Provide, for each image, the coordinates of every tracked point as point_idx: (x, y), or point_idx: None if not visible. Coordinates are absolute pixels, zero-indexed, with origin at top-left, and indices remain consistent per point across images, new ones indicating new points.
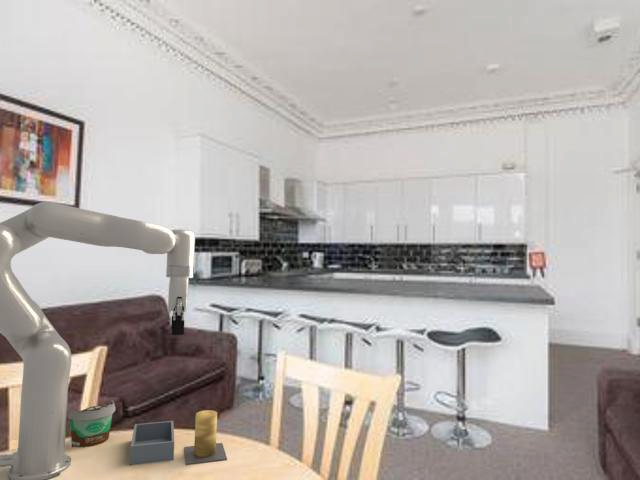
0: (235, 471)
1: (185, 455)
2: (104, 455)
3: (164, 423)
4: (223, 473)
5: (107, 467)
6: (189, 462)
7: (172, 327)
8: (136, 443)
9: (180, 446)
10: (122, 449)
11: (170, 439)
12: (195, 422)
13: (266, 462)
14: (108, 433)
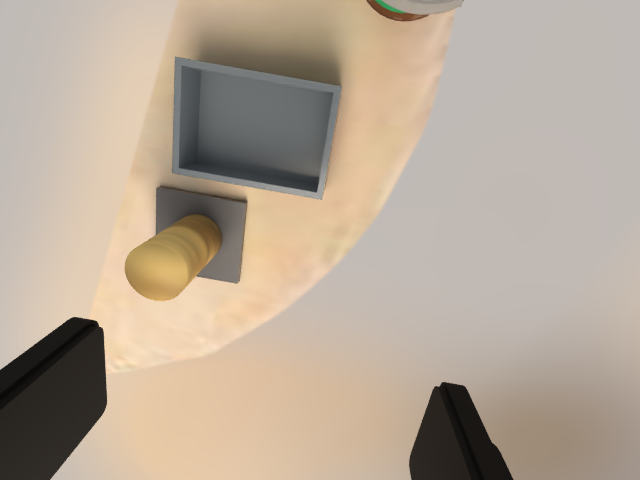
0: (115, 268)
1: (197, 195)
2: (289, 4)
3: (320, 173)
4: (113, 246)
5: (214, 9)
6: (159, 195)
7: (6, 368)
8: (320, 95)
9: (270, 197)
10: (309, 56)
11: (308, 182)
12: (165, 237)
13: (136, 328)
14: (387, 12)
